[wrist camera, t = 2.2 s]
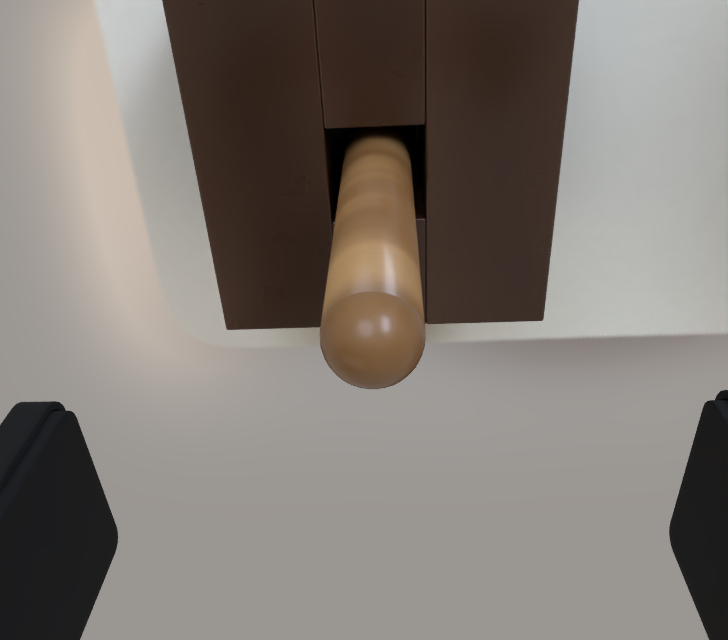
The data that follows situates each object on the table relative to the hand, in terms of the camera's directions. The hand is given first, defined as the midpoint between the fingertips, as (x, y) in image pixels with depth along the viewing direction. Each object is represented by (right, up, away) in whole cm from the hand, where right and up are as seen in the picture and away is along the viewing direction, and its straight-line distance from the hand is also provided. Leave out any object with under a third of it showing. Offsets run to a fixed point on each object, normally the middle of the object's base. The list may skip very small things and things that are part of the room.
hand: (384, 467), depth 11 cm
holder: (0, +10, +15) cm, 18 cm away
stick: (0, +10, +15) cm, 18 cm away
